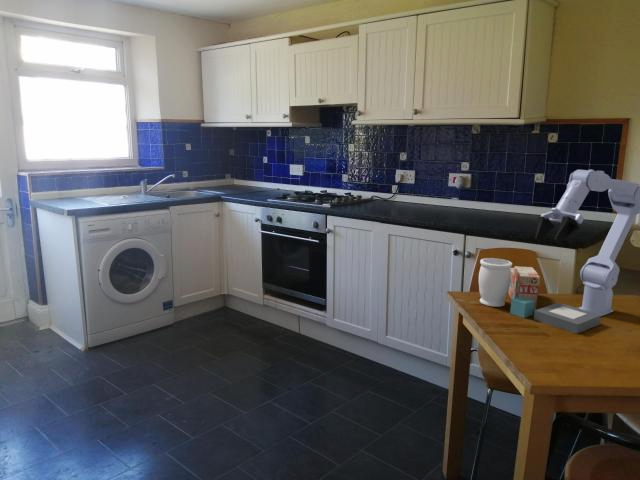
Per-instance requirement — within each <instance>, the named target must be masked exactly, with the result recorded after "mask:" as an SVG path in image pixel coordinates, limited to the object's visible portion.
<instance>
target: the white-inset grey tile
mask: <svg viewBox="0 0 640 480" xmlns="http://www.w3.org/2000/svg"><path fill="white" fill-rule="evenodd" d="M533 320H535V321H538V322H540V323H544V324H547V325H550V326H552V327H555V328H558V329H561V330H564V331H567V332H571V333H573V334H576V335H578V334H580V333H583V332H584V331H587V330H590V329H591V328H594V327H597V326H599V325H601V320H602V316H601V315H599V314H596V313H592V312H589V311H586V310H582V309H579V307H575V306H572V305H568V304H565V303H562V302H555V303H553V304H549V305H547V306H544V307H542V308H541V307H540V308H538V309H537V308H536V310H535V311H533Z"/></svg>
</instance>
